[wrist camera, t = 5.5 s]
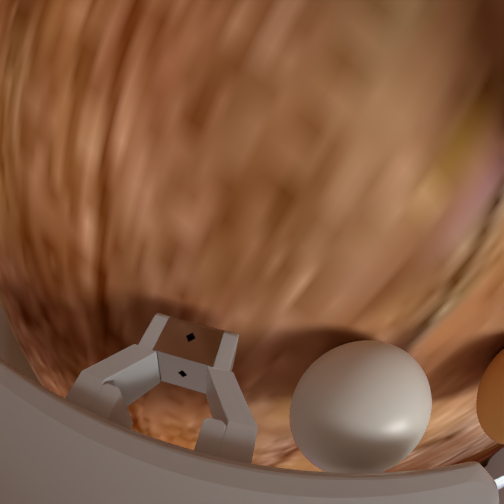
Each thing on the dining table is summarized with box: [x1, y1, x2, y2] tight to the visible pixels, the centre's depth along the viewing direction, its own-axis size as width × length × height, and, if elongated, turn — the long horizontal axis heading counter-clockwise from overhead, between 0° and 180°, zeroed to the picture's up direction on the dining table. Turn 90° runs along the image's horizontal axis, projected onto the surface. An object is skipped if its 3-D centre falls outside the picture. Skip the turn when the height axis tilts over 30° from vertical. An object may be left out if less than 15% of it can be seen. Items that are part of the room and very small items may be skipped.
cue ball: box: [289, 340, 432, 473], centre depth 10 cm, size 6×6×6 cm
